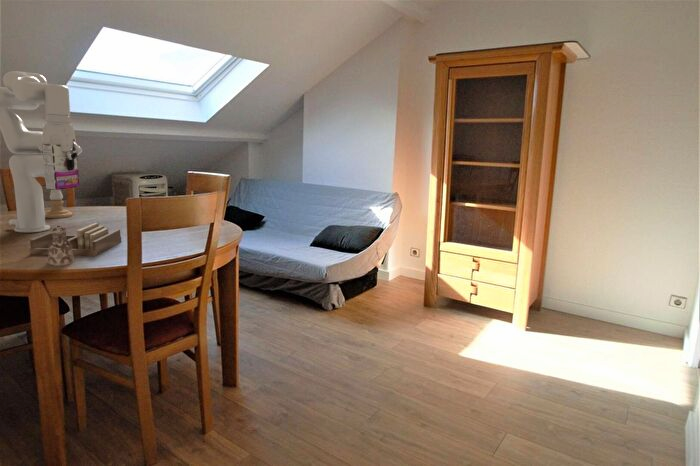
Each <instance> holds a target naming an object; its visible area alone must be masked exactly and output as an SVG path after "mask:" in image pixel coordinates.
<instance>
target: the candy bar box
mask: <svg viewBox="0 0 700 466" xmlns="http://www.w3.org/2000/svg"><path fill="white" fill-rule="evenodd" d="M42 149H43V160H44V171H45V178H44V181H45V189H46V190H50V191H51V190H61V191H62V190H67V189H72V188H79V187H80V176H79V175H80V174H79V165H78V156H77V157H76V158H75V159H74V170H70V171H69V170H68V169H67V160H68V156H67V154H66V152H62V151H61V146H60V145H58V144H42ZM75 152H76V150H75V151H73V153H75Z"/></svg>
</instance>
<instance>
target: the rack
mask: <svg viewBox="0 0 700 466" xmlns="http://www.w3.org/2000/svg"><path fill="white" fill-rule="evenodd" d="M63 228H64V229H65V230H66V227H63ZM66 231H67V230H66ZM66 239H67V240H68V241H69V242H70V243H71V245H72V250H73V256H74V257H75V256H76V257H78V256H79V257H80V256H81V257H83V256H85V257H96V256H99V255H101V254H102V253H104V252H106V251H107V250H110V249H111V248H113V247H115V246H116V245H118V244H120V243H121V242H122V236H121V229H119V228H117V229H115V230H113V231H111V232H108V234H107V235H105V236H103V237H101V238H99V239H97V240H95V241H92V246H93V250H90V249H78V240H77V234H66ZM52 240H53V237H52V231H49V232H47V233H44V234H41V235H39V236H35V237H33V238H31V239H29V243H30V244H29V245H30V248H29V254H30V255H39V256H40V255H41V256H43V255H45V256H47V255H49V244H50V242H51V241H52Z"/></svg>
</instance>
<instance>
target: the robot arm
mask: <svg viewBox="0 0 700 466" xmlns="http://www.w3.org/2000/svg"><path fill="white" fill-rule="evenodd" d="M2 82H3V85H4V86H5V87H4V86H0V131H1V134H2V137H3V140H4V142H5V145H6V147H7V149H8V151H9V152H10V153H12V154H14V155H12V156H11V157H10V158H9V161H8V166H9V169H10V173H11V176H12V181H13V186H14V193H15V194H14V196H15V197H14V198H15V205H16V216H17V219H9V220H8V225H10V226H11V225H14V226H15V227H14V228H13V230H14V232H16V233H39V232H46V231H49V230H50V229H51V226H50V225H49V224H46V218H45V213H46V212H45V205H44V204H45V203H44V192H43V187H42V185H41V184H40V182H38V181H37V179H36V178H39V177H42V178H44V177H45V171H44V160H43V149H42V144H58V145H60V146H61V151H62V152H66V154H67V156H68V160H67V169H68V170H69V171H70V170H74V159H75V158H76V157H77V158H78V156H79V155H80V154H81V153H82V152H83V151H84V150H83V149H82V147H80V145H78V144H77V140H76V133H75V129H74V125H73V124H71V106H70V104H71V103H70V91H69V88H68V86H67V85H63V84H53V83H48V81H47V79H46V77H45V76H43V75H42V74H40V73H34V72H28V71H21V70H20V71H18V70H13V71H8V72H6V73H5V74H4V75H3V77H2ZM40 105H45V108H44V109H45V115H42V119H43V120H45V122H43V126H42V131H38V130H29V129H27V128H26V126H25V122H24V121H23V119H22V118H21V117H20V116H19V115H18V114H16V113H15V112H14V111H12V110H21V111H23V110H24V111H34V110H36V109H37V108H39V106H40ZM75 150H76V152H75V153H73V151H75Z"/></svg>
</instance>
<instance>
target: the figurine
mask: <svg viewBox="0 0 700 466" xmlns="http://www.w3.org/2000/svg"><path fill="white" fill-rule="evenodd" d="M64 228H65V227H61V225H56V227H53V229H52V230H51V232H52V237H53V240H52V241H51V242H50V244H49V255H48V257H47V263H48V265H50V266H55V267H56V266H57V267H59V266H65V265H71V264H73V263H74V262H75V259H74V257H75V256H74V255H73V250H72V245H71V243H70V242H69V241H68V240H67V239H66V235H67V230H65V229H66V228H65V229H64Z"/></svg>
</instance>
